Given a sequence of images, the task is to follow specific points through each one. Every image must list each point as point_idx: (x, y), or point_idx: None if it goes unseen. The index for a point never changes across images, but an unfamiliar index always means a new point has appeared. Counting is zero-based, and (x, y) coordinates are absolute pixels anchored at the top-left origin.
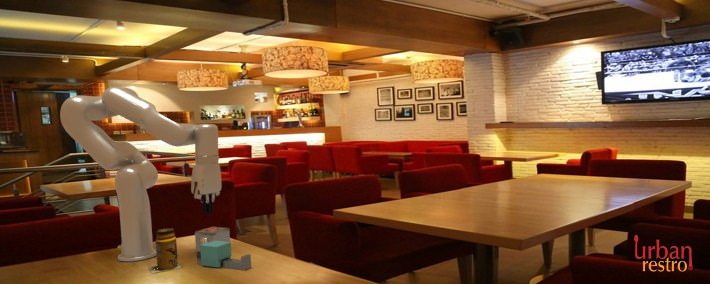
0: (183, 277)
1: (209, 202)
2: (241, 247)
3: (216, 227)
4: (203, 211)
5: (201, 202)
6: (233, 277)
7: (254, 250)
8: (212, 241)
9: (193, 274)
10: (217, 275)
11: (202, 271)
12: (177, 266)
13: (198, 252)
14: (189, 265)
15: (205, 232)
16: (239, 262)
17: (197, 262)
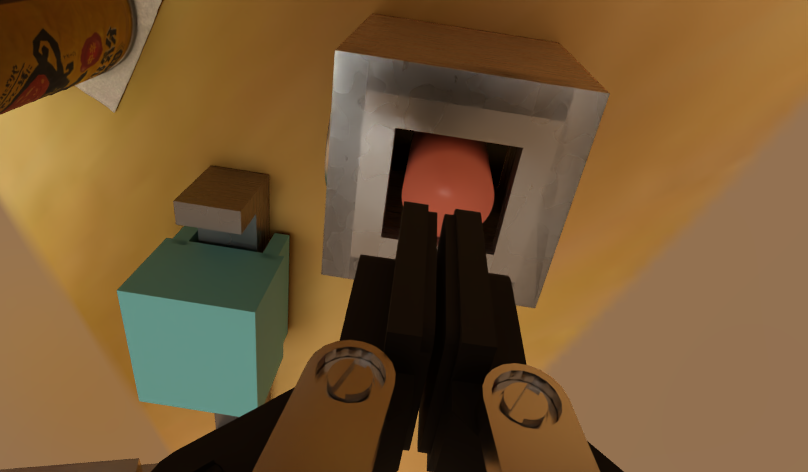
0: (23, 231)
1: (436, 435)
2: (604, 232)
3: (561, 175)
4: (360, 263)
5: (333, 344)
6: (145, 413)
7: (534, 332)
8: (228, 316)
9: (79, 251)
10: (129, 353)
11: (133, 266)
12: (116, 66)
13: (177, 213)
14: (170, 131)
15: (341, 189)
16: (224, 418)
17: (206, 170)
